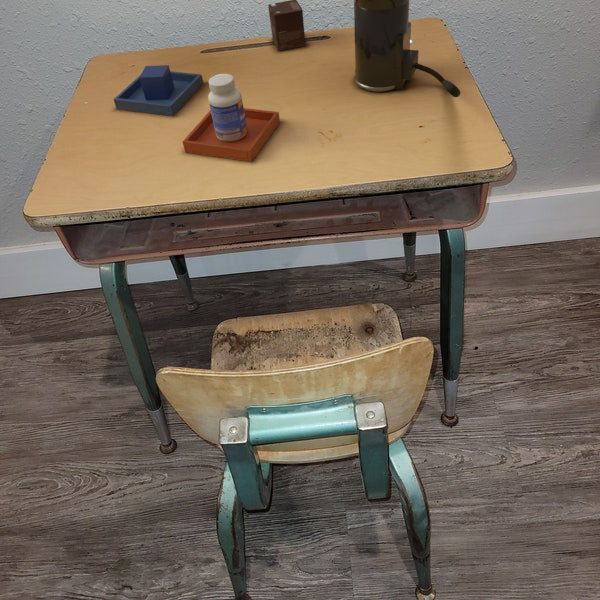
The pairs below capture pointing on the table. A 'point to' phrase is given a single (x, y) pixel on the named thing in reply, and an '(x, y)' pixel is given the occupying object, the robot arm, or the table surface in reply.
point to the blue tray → (182, 92)
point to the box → (287, 24)
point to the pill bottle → (227, 108)
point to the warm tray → (243, 149)
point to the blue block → (157, 82)
